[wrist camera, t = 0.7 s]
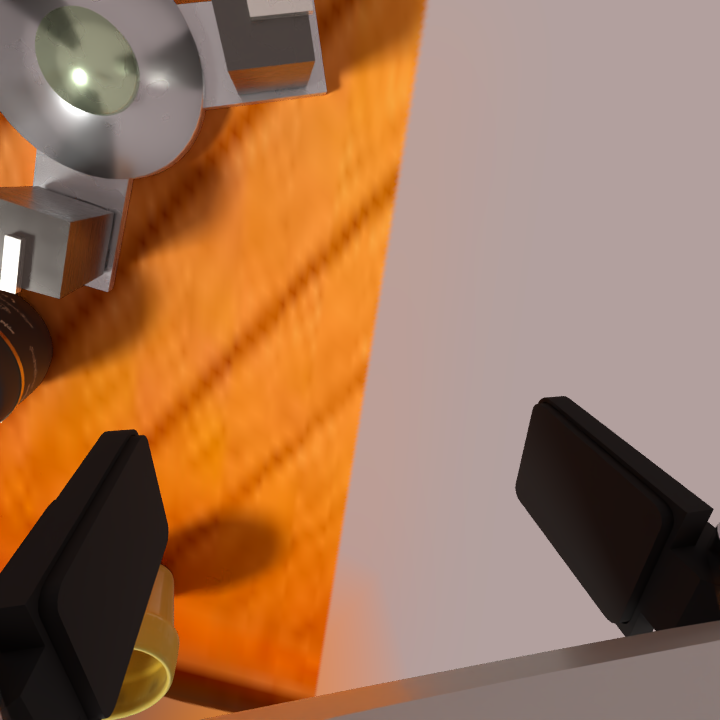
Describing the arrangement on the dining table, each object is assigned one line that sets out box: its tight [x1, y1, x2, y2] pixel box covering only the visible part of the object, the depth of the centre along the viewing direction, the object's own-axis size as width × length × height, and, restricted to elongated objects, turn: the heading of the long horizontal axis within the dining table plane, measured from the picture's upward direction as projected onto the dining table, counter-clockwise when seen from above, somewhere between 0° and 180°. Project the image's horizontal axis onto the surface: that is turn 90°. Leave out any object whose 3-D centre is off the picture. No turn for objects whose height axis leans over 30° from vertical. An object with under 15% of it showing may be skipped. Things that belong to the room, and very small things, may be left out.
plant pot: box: [102, 564, 179, 720], centre depth 38 cm, size 10×10×10 cm
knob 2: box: [211, 0, 315, 95], centre depth 22 cm, size 5×4×7 cm
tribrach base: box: [0, 0, 327, 292], centre depth 24 cm, size 26×22×3 cm
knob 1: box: [0, 186, 114, 299], centre depth 24 cm, size 5×4×7 cm
